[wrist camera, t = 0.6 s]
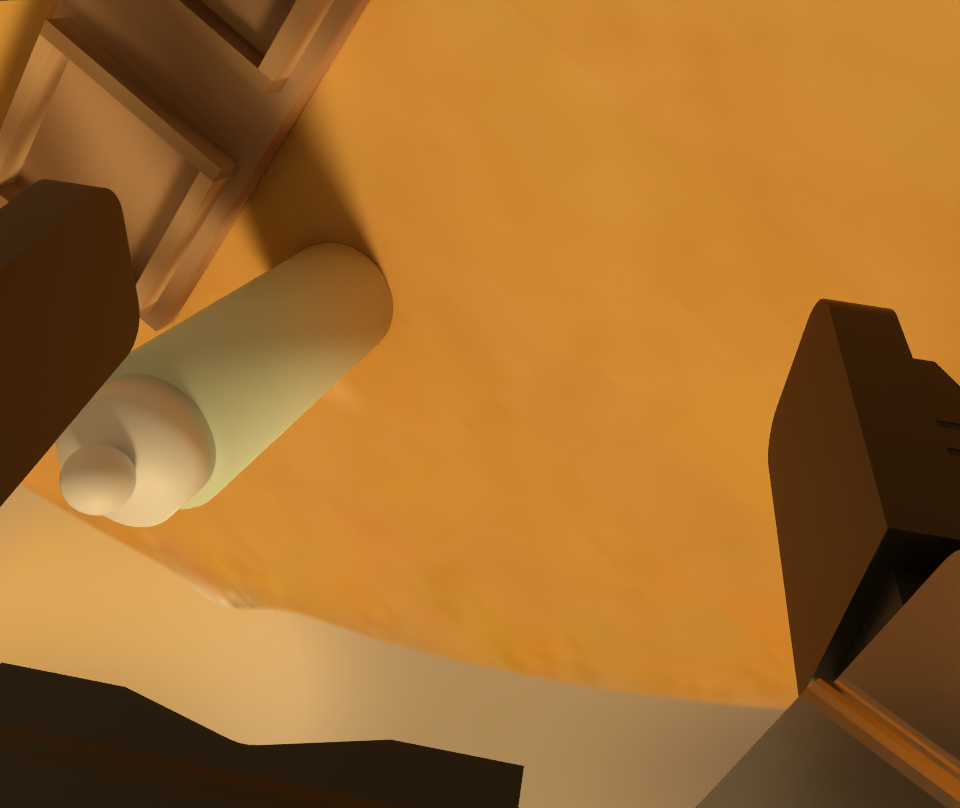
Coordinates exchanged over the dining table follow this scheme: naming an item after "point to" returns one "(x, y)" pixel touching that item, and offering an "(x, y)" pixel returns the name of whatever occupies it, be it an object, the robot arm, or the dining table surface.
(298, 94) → the cruet stand
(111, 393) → the salt mill
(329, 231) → the dining table surface
